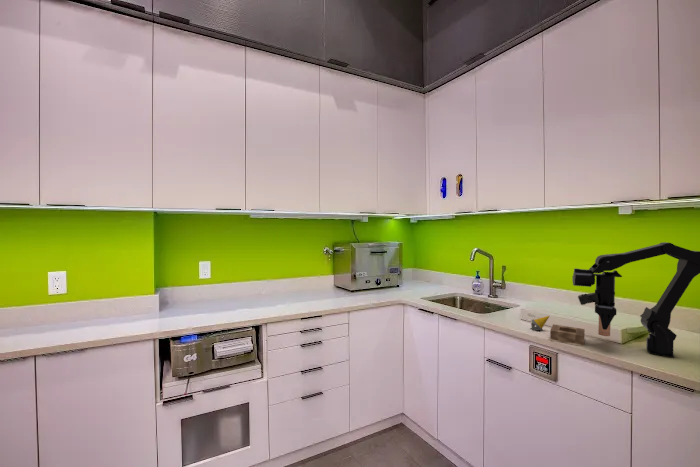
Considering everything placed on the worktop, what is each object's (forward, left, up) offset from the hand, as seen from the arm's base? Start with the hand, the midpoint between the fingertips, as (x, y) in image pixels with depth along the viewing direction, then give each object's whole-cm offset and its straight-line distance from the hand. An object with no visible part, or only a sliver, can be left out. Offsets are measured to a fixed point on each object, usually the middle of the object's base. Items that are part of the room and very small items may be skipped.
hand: (604, 328), depth 126 cm
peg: (0, 0, -3) cm, 3 cm away
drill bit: (+23, -8, -7) cm, 25 cm away
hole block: (+12, 0, -7) cm, 14 cm away
